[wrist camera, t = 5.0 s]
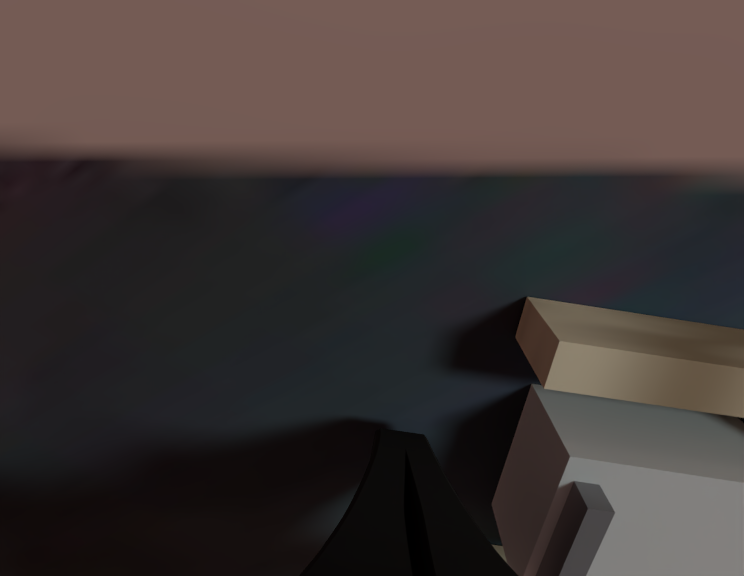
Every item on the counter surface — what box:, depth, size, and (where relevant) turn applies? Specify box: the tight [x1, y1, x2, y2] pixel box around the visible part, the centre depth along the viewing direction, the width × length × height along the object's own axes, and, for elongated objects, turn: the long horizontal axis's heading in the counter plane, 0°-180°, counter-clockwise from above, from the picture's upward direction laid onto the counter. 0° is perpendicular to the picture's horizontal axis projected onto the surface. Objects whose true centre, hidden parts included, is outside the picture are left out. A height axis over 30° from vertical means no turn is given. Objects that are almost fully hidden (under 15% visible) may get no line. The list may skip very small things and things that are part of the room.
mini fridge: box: [492, 384, 744, 576], centre depth 13 cm, size 6×4×4 cm
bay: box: [492, 297, 744, 563], centre depth 13 cm, size 9×10×2 cm
